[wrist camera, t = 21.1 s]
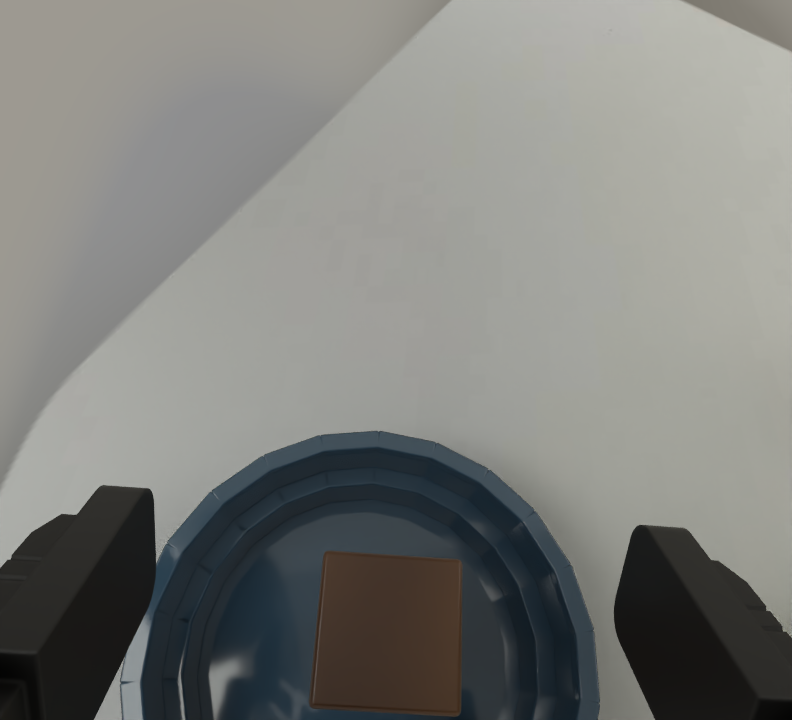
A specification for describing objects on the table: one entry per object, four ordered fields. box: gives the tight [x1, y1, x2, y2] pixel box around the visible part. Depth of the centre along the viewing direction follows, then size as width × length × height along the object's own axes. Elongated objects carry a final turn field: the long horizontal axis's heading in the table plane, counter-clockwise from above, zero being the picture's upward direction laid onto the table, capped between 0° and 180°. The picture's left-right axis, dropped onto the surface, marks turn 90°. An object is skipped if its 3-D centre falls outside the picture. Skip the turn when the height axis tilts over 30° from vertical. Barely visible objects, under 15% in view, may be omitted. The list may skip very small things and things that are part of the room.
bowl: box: [120, 431, 600, 720], centre depth 21 cm, size 13×13×5 cm
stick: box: [309, 551, 462, 717], centre depth 17 cm, size 2×2×13 cm
